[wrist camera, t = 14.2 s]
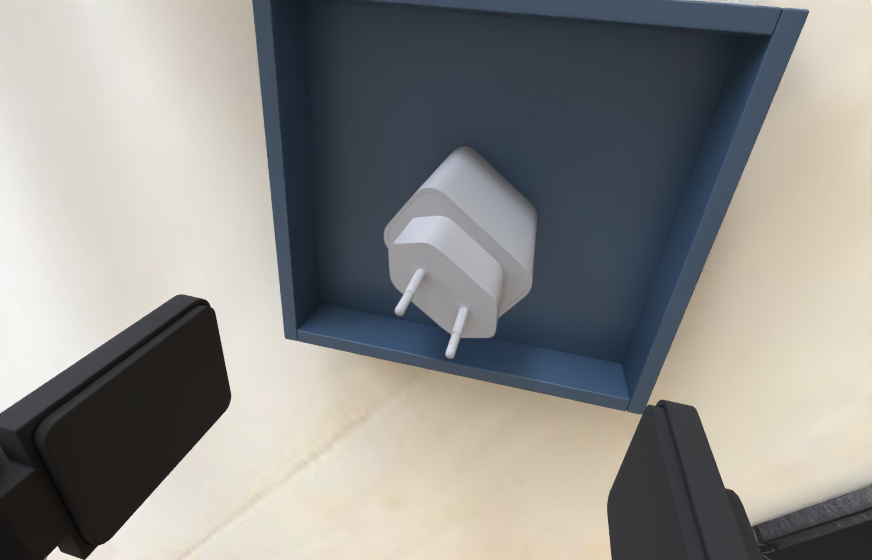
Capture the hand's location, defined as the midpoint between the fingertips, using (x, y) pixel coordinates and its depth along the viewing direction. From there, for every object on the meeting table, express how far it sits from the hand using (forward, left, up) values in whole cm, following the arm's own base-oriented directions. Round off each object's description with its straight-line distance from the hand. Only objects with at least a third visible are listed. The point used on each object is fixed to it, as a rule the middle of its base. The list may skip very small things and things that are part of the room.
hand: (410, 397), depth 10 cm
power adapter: (0, 0, -15) cm, 15 cm away
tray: (0, 0, -15) cm, 15 cm away
